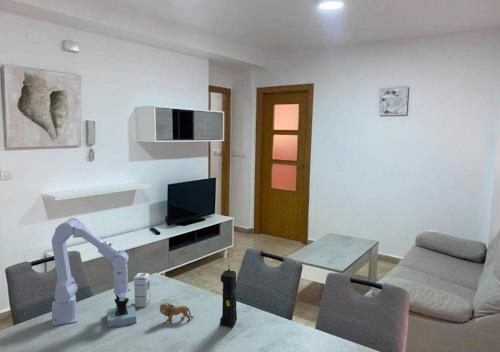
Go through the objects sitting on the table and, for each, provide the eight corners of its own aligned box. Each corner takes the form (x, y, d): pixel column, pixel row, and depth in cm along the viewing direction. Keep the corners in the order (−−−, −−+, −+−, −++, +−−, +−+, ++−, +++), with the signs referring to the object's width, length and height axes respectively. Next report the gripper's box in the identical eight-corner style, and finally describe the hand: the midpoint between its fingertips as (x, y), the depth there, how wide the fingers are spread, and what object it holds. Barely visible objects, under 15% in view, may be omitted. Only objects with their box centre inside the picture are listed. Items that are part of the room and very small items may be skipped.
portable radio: (233, 329, 162) (234, 272, 159) (219, 327, 163) (220, 270, 160) (237, 320, 169) (238, 265, 166) (224, 318, 170) (225, 264, 167)
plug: (116, 322, 165) (116, 308, 165) (116, 317, 169) (116, 304, 168) (126, 320, 167) (126, 307, 166) (126, 316, 171) (125, 303, 170)
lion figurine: (160, 326, 163) (160, 306, 161) (158, 320, 167) (158, 301, 166) (194, 321, 168) (194, 301, 167) (192, 315, 173) (192, 296, 172)
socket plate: (107, 327, 161) (107, 320, 160) (107, 315, 171) (107, 308, 171) (136, 323, 165) (136, 316, 164) (134, 311, 175) (134, 305, 175)
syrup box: (146, 307, 180) (146, 277, 178) (134, 306, 180) (133, 276, 178) (150, 301, 186) (150, 272, 184) (138, 301, 186) (137, 272, 184)
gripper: (131, 285, 161) (132, 316, 162) (129, 273, 174) (129, 301, 176) (114, 287, 158) (114, 318, 160) (112, 274, 171) (113, 303, 173)
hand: (121, 309), depth 168 cm, fingers open, 7 cm apart
